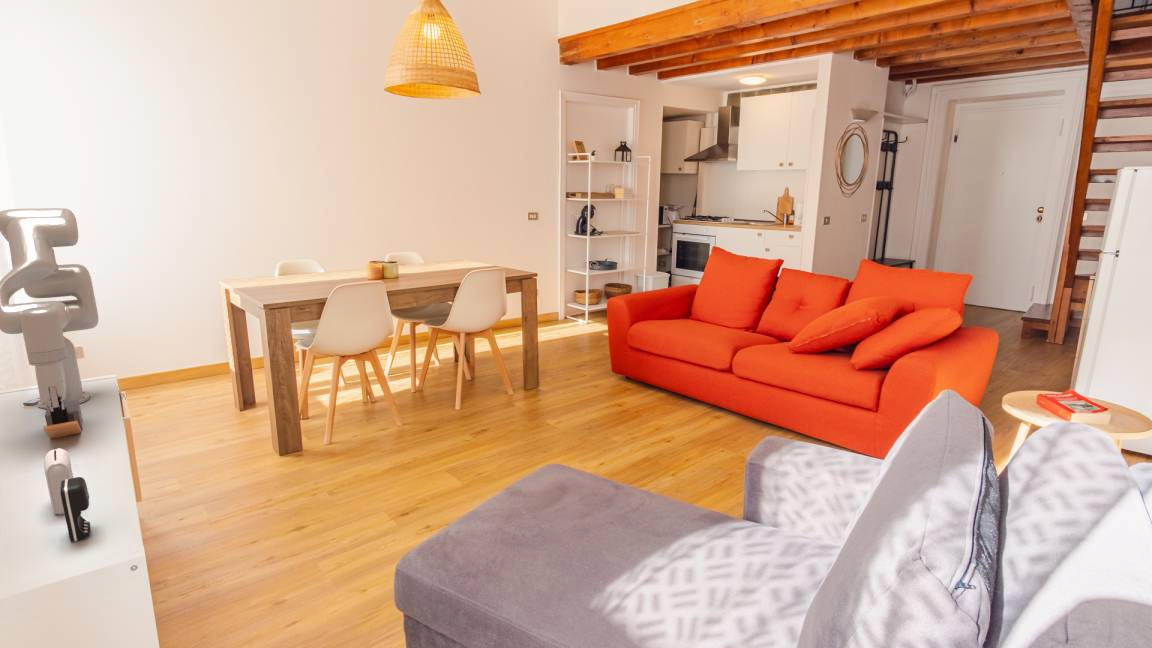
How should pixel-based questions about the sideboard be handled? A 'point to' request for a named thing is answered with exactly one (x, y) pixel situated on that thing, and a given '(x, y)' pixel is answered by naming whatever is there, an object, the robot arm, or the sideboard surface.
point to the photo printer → (57, 475)
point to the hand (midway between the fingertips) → (61, 423)
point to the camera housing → (72, 411)
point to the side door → (62, 429)
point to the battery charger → (75, 507)
